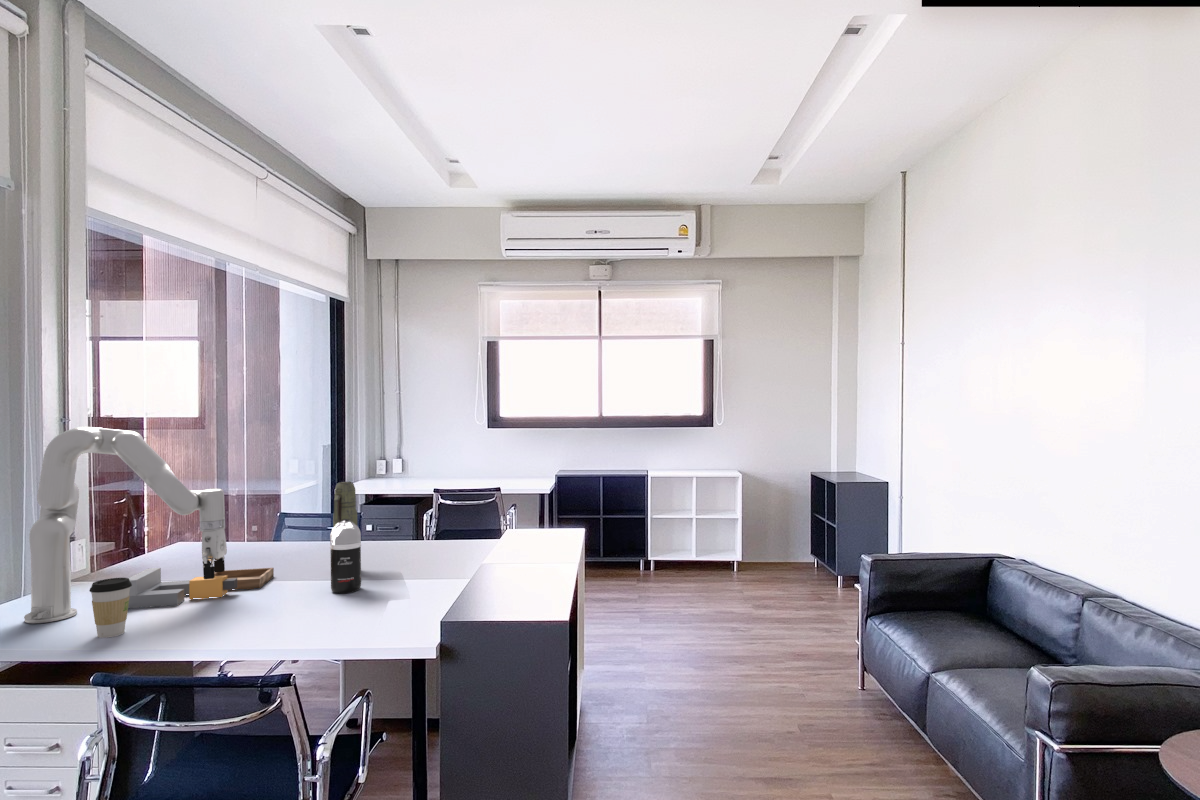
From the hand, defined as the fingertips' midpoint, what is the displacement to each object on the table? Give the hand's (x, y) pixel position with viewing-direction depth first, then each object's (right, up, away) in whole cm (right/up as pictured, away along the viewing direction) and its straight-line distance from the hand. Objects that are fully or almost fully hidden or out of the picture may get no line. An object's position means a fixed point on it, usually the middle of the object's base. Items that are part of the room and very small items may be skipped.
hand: (214, 575), depth 231 cm
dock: (-16, -7, -3) cm, 18 cm away
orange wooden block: (0, -7, 0) cm, 7 cm away
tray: (-1, -8, +16) cm, 18 cm away
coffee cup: (-7, -7, -39) cm, 41 cm away
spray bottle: (+44, -7, +4) cm, 44 cm away
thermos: (+33, -7, +33) cm, 47 cm away
